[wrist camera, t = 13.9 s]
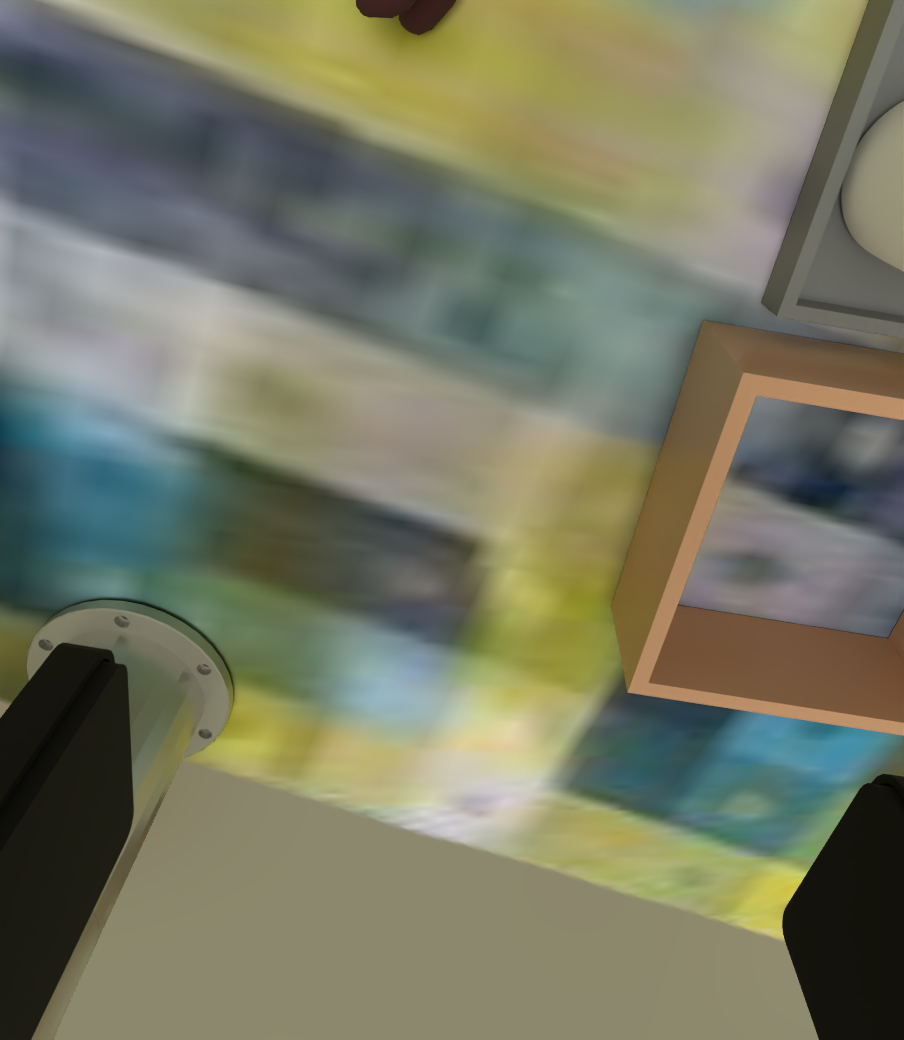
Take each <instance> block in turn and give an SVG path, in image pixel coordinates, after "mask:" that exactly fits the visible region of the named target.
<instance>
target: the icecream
mask: <svg viewBox="0 0 904 1040" xmlns="http://www.w3.org/2000/svg"><path fill="white" fill-rule="evenodd" d="M455 1H456V0H356V6H357V8H358V9H359V11H360V12H361V13H362V15H364V16H367V17H380V18H393V17H395V16H397V15H399V20H400V22H401V24H402V26H403V27H404V28H405V29H406V30H408V31H409V32H411V33H413V34H417V35H420V34H422V33H425V32H427V31H429V30H432V29H433V28H434V27H435V25H436V24H437V23H438V22H439V21H440V20H441V19H442V17H443V16H444V15H445V14H446V13H447V12H448V11H449V9H450V8H451V7H452V6H453V5H454V3H455Z"/></svg>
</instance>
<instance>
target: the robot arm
mask: <svg viewBox="0 0 904 1040" xmlns="http://www.w3.org/2000/svg"><path fill="white" fill-rule="evenodd" d="M26 669H27V675H28V681H29V682H28V683H27V684H26V686H25V687H24V688H23V689H22V691H21V692H20V693H19V695H18V696H17V697H16V699H15V700H14V701H13V702H12V704H11V705H10V706H9V708H8V709H7V710H6V712H5V713H4V714H3V715H2V717H1V718H0V1040H54V1037H55V1035H56V1033H57V1030H58V1028H59V1025H60V1023H61V1021H62V1019H63V1016H64V1014H65V1012H66V1010H67V1007H68V1005H69V1003H70V1001H71V998H72V996H73V993H74V991H75V989H76V987H77V985H78V982H79V980H80V978H81V976H82V974H83V972H84V969H85V967H86V965H87V963H88V961H89V959H90V956H91V954H92V952H93V950H94V948H95V946H96V944H97V941H98V939H99V937H100V934H101V932H102V930H103V928H104V926H105V924H106V921H107V919H108V917H109V915H110V913H111V911H112V908H113V906H114V904H115V902H116V900H117V898H118V896H119V894H120V891H121V889H122V887H123V885H124V882H125V880H126V878H127V876H128V874H129V872H130V870H131V868H132V865H133V863H134V861H135V859H136V857H137V855H138V852H139V850H140V848H141V846H142V844H143V842H144V840H145V838H146V835H147V833H148V831H149V829H150V827H151V825H152V823H153V820H154V818H155V816H156V814H157V812H158V809H159V807H160V805H161V803H162V801H163V799H164V796H165V795H166V792H167V790H168V788H169V786H170V784H171V781H172V779H173V777H174V775H175V773H176V771H177V769H178V767H179V764H180V762H181V760H182V758H183V757H187V756H190V755H192V754H195V753H197V752H199V751H201V750H203V749H204V748H206V747H207V746H208V745H210V744H211V743H212V742H214V741H215V739H216V738H217V737H218V736H219V735H220V733H221V732H222V731H223V729H224V727H225V724H226V722H227V720H228V718H229V716H230V712H231V708H232V705H233V687H232V683H231V679H230V675H229V673H228V671H227V668H226V666H225V664H224V662H223V660H222V659H221V658H220V656H219V655H218V654H217V652H216V651H215V650H214V648H213V647H212V646H211V645H210V644H209V643H208V642H207V641H206V640H205V639H204V638H203V637H202V636H201V635H200V634H199V633H198V632H196V631H195V630H193V629H192V628H190V627H189V626H188V625H186V624H185V623H183V622H182V621H180V620H178V619H176V618H174V617H172V616H170V615H168V614H166V613H164V612H162V611H159V610H156V609H154V608H151V607H148V606H145V605H141V604H136V603H131V602H126V601H115V600H98V601H90V602H83V603H80V604H77V605H74V606H71V607H67V608H66V609H64V610H62V611H61V612H59V613H57V614H55V615H54V616H53V617H52V618H51V619H50V620H49V621H48V622H46V623H45V624H44V625H43V627H42V628H41V629H40V630H39V632H38V633H37V634H36V635H35V637H34V638H33V640H32V642H31V645H30V647H29V650H28V653H27V663H26ZM782 927H783V935H784V939H785V942H786V945H787V948H788V951H789V954H790V956H791V960H792V963H793V965H794V968H795V971H796V974H797V977H798V980H799V983H800V985H801V989H802V992H803V994H804V997H805V1000H806V1003H807V1006H808V1009H809V1012H810V1014H811V1018H812V1020H813V1023H814V1026H815V1029H816V1032H817V1035H818V1038H819V1040H904V777H901V776H895V775H889V774H882V775H880V776H877V777H876V778H875V779H874V781H873V782H872V783H867V784H865V785H863V786H862V787H861V788H860V790H859V791H858V793H857V794H856V796H855V798H854V799H853V801H852V802H851V804H850V806H849V807H848V809H847V810H846V812H845V814H844V815H843V817H842V818H841V820H840V822H839V823H838V825H837V826H836V828H835V830H834V831H833V833H832V834H831V836H830V838H829V839H828V841H827V842H826V844H825V846H824V847H823V849H822V850H821V852H820V854H819V855H818V857H817V858H816V860H815V862H814V863H813V865H812V866H811V868H810V870H809V871H808V873H807V874H806V876H805V877H804V879H803V881H802V882H801V884H800V885H799V887H798V889H797V890H796V892H795V893H794V895H793V897H792V898H791V900H790V901H789V903H788V905H787V906H786V908H785V911H784V914H783V922H782Z"/></svg>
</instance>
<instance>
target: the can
mask: <svg viewBox="0 0 904 1040" xmlns="http://www.w3.org/2000/svg"><path fill="white" fill-rule="evenodd" d="M841 204H842V212H843V217H844V220H845V223H846V226H847V228H848V230H849V232H850V234H851V235H852V237H853V238H854V239H855V241H856V242H857V243H858V244H859V245H860V246H861V247H863V248H864V249H865V250H866V251H868V252H869V253H871V254H872V255H874V256H876V257H877V258H879V259H881V260H883V261H885V262H886V263H888V264H890V265H892V266H894V267H896V268H898V269H900V270H901V271H903V272H904V101H902V102H901V103H899V104H897V105H896V106H894V107H893V108H892V109H890V110H889V111H888V112H886V113H885V114H884V115H883V116H882V117H881V118H880V119H878V120H877V121H876V122H875V123H874V125H873V126H872V127H871V128H870V129H869V130H868V131H867V133H866V134H865V135H864V137H863V138H862V139H861V141H860V142H859V144H858V145H857V147H856V149H855V151H854V154H853V156H852V159H851V162H850V164H849V167H848V170H847V172H846V175H845V177H844V180H843V185H842V193H841Z"/></svg>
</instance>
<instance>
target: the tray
mask: <svg viewBox="0 0 904 1040" xmlns="http://www.w3.org/2000/svg"><path fill="white" fill-rule="evenodd" d="M902 101H904V0H869V3H868V5H867V8H866V11H865V14H864V17H863V19H862V22H861V25H860V28H859V31H858V33H857V36H856V39H855V42H854V45H853V47H852V50H851V53H850V56H849V59H848V61H847V64H846V67H845V70H844V73H843V75H842V78H841V81H840V84H839V87H838V89H837V92H836V95H835V98H834V101H833V103H832V106H831V109H830V112H829V115H828V117H827V120H826V123H825V126H824V129H823V131H822V134H821V137H820V140H819V143H818V145H817V148H816V151H815V154H814V157H813V159H812V162H811V165H810V168H809V171H808V173H807V176H806V179H805V182H804V185H803V187H802V190H801V193H800V196H799V199H798V201H797V204H796V207H795V210H794V213H793V216H792V218H791V221H790V224H789V227H788V230H787V232H786V235H785V238H784V241H783V244H782V246H781V249H780V252H779V255H778V258H777V260H776V263H775V266H774V269H773V272H772V274H771V277H770V280H769V283H768V286H767V288H766V291H765V294H764V297H763V300H762V303H763V304H764V305H765V306H766V307H767V308H768V309H769V310H770V311H771V312H772V313H773V314H774V315H775V316H776V317H781V318H787V319H792V320H798V321H804V322H810V323H816V324H822V325H828V326H834V327H840V328H846V329H851V330H857V331H863V332H869V333H875V334H881V335H887V336H893V337H899V338H904V272H903V271H901V270H900V269H898V268H896V267H894V266H892V265H890V264H888V263H886V262H885V261H883V260H881V259H879V258H877V257H876V256H874V255H872V254H871V253H869V252H868V251H866V250H865V249H864V248H863V247H861V246H860V245H859V244H858V243H857V242H856V241H855V239H854V238H853V237H852V235H851V234H850V232H849V230H848V228H847V226H846V223H845V220H844V217H843V212H842V204H841V193H842V185H843V180H844V177H845V175H846V172H847V170H848V167H849V164H850V162H851V159H852V156H853V154H854V151H855V149H856V147H857V145H858V144H859V142H860V141H861V139H862V138H863V137H864V135H865V134H866V133H867V131H868V130H869V129H870V128H871V127H872V126H873V125H874V123H875V122H876V121H877V120H878V119H880V118H881V117H882V116H883V115H884V114H885V113H886V112H888V111H889V110H890V109H892V108H893V107H894V106H896V105H897V104H899V103H901V102H902Z"/></svg>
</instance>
